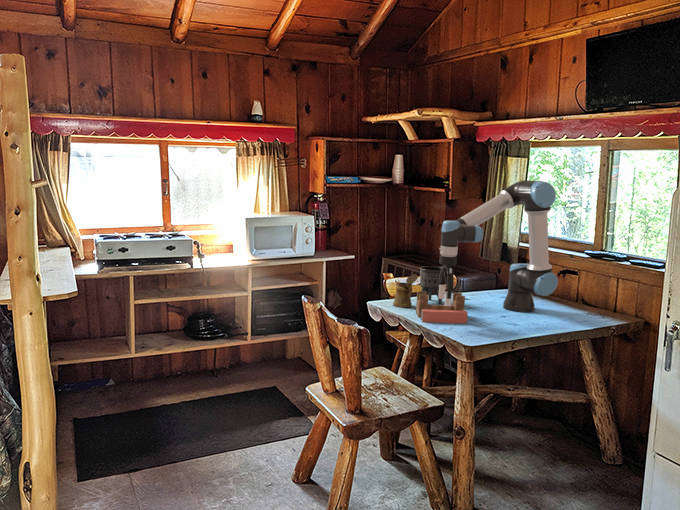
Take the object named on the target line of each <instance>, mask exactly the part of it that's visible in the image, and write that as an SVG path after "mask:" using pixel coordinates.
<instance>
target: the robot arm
mask: <svg viewBox="0 0 680 510" xmlns="http://www.w3.org/2000/svg"><path fill="white" fill-rule="evenodd" d="M555 201H556V190H555V188H554V186H553V185H552V184H551V183H549V182H548V181H542V180H529V179H528V180H527V179H523V180H520V181H517V182H515V183H513V184H511V185H509V186H507V187H505V188H504V189H502V190H501V191H499V194H498V195H497V196H495V197H492V198H491V199H489V200H488V201H486V202H485V203H482V205H479V206H478V207H476V208H474V209H472V210H471V211H470V212H468V213H466V214H465V215H463V216H461V217H459V218H458V219H456V220H444V221H443V222H442V226H441V231H440V232H441V237H440V247H439V248H438V250H439V254H440V255H439V261H438V264H440V265H441V266H440V267H441V271H440V276H439V284H440V285H439V296H438V297H437V299H442V300H444V305H445V306H451V305H452V299H453V292H454V289H455V288H454V287H455V285H454V270H455V269H454V268H453V267H452V266H456V265H457V262H458V261H457V260H458V257H457V256H458V249H459V248H458V247H459V243H473V244H474V243H480V242H482V240H483V239H484V230H483V227H481V226H480V225H482V224H483V223H485V222H487V221H488V220H490V219H491V218H493V217H494V216H496V215H499V214H500V213H501V212H503V211H505V210H506V209H512V208H515V207H516V206H522V205H523V206H524V207H523V208H524V212H525V213H526V214H527V218H528V219H527V221H528V222H527V225H528V226H527V227H528V249H529V255H528V256H529V263H512V264H510V267H509V276H508V286H507V287H508V290H507V294H506V296H505V298H504V301H503V302H502V303H503V304H502V307H503V309H505V310H508V311H512V312H517V313H532V312H534V311H535V309H536V307H535V306H536V305H535V302H534V297H533V294H535V295H537V296H542V297H545V296H546V297H547V296H550V295H552V294H553V293H554V291H556V289H557V287H558V283H559V279H558V276H557V275H556V274H555V273H554V272H553V265H552V264H550V262H549V261H550V260H549V259H550V257H549V231H548V230H549V229H548V227H549V226H548V223H549V222H548V213H549V212H550V211H551V208H552V205H553V204H554V202H555Z"/></svg>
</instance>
